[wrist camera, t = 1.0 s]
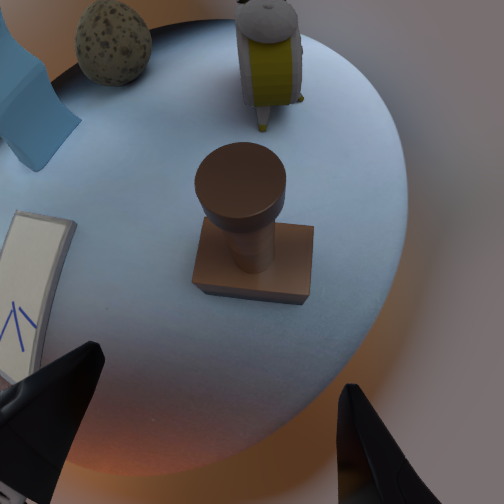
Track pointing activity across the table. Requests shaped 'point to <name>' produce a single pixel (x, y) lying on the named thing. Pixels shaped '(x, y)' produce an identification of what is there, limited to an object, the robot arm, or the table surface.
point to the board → (29, 288)
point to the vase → (29, 105)
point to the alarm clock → (268, 55)
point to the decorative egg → (112, 43)
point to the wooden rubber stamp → (249, 229)
